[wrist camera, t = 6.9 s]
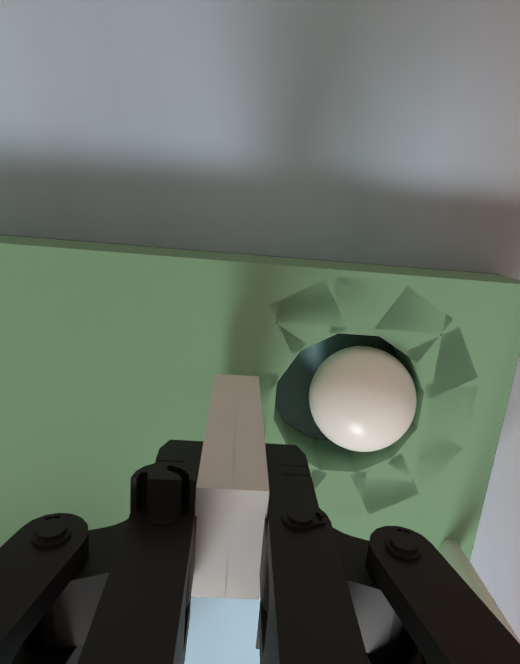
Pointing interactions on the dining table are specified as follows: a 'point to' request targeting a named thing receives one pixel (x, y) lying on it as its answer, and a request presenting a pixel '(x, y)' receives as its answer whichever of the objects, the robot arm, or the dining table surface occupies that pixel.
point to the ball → (362, 398)
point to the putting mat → (240, 359)
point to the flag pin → (471, 578)
